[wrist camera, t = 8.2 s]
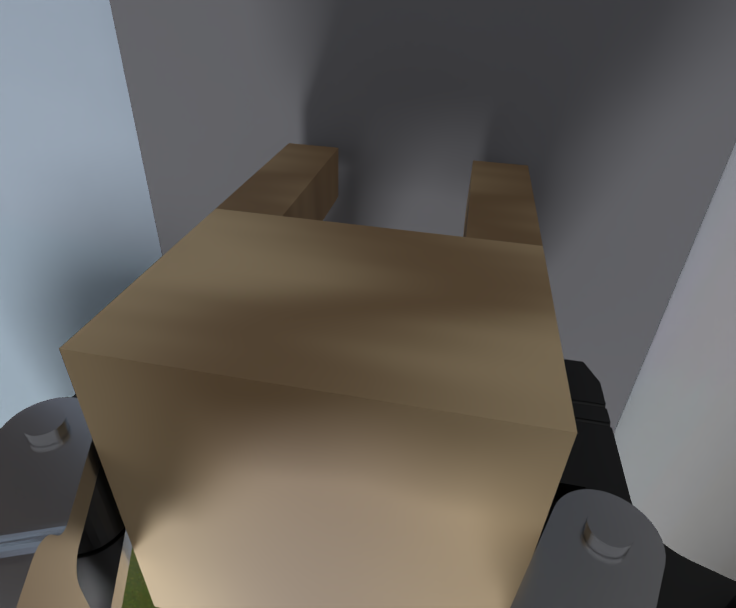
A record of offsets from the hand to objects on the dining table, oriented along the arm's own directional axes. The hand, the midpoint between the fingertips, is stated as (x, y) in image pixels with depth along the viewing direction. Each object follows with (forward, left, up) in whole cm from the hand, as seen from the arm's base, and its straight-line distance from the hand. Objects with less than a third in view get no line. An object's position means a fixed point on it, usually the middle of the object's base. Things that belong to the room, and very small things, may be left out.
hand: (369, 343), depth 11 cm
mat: (0, 0, -5) cm, 5 cm away
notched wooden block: (0, 0, -4) cm, 4 cm away
